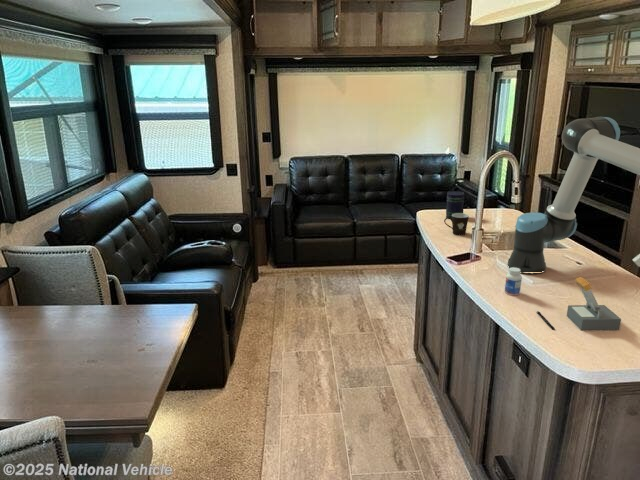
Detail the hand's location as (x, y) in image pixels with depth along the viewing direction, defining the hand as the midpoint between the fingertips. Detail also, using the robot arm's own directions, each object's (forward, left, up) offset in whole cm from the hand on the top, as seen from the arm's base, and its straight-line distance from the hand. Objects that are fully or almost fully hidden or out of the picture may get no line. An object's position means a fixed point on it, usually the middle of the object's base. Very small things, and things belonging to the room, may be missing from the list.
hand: (635, 263), depth 148 cm
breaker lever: (-4, -10, -15) cm, 19 cm away
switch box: (-4, -10, -21) cm, 23 cm away
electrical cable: (-11, -23, -21) cm, 33 cm away
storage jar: (-128, +26, -21) cm, 132 cm away
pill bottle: (-33, -17, -21) cm, 43 cm away
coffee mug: (-103, +9, -21) cm, 105 cm away
